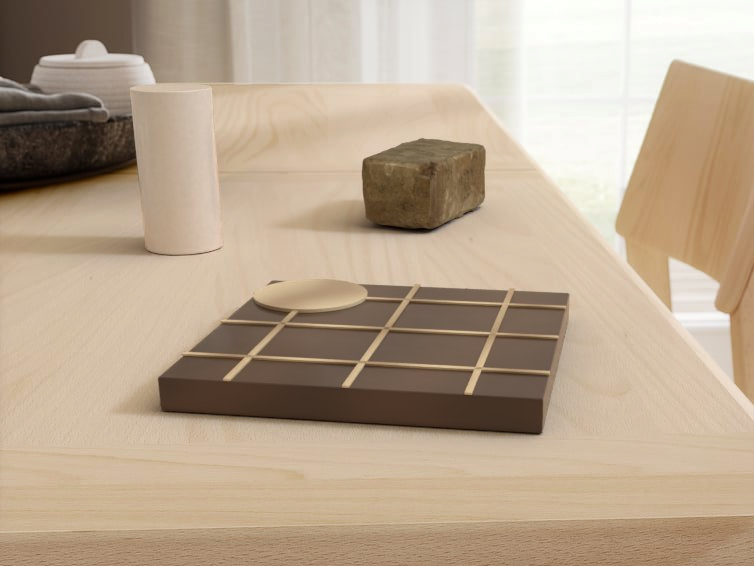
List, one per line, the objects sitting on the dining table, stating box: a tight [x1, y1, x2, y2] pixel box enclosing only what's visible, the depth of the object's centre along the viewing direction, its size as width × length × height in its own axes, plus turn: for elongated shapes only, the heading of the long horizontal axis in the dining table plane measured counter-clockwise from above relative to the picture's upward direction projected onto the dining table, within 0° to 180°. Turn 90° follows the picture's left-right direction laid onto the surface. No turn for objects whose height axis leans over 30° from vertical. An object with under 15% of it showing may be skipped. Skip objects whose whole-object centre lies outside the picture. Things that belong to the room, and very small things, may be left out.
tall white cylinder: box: [129, 82, 224, 256], centre depth 75 cm, size 5×5×10 cm
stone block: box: [361, 137, 487, 230], centre depth 85 cm, size 6×12×5 cm, turn 159°
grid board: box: [157, 278, 570, 434], centre depth 55 cm, size 16×16×2 cm
